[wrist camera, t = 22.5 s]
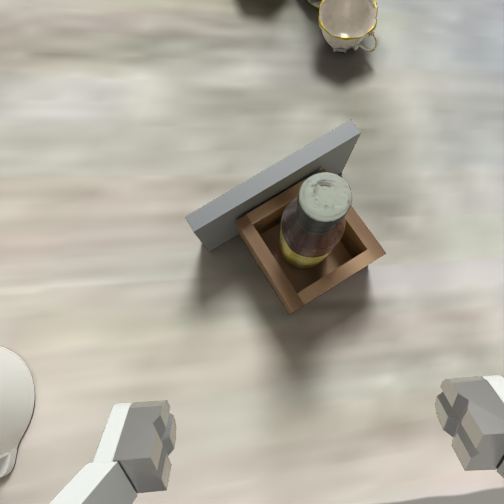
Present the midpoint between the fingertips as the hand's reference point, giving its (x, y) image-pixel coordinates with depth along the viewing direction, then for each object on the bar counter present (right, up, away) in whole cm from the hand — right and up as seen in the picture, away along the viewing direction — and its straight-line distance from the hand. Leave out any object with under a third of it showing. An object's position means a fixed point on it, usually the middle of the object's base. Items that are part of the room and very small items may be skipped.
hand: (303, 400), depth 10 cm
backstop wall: (+1, +11, +37) cm, 38 cm away
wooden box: (+5, +5, +35) cm, 36 cm away
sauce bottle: (+5, +5, +34) cm, 35 cm away
